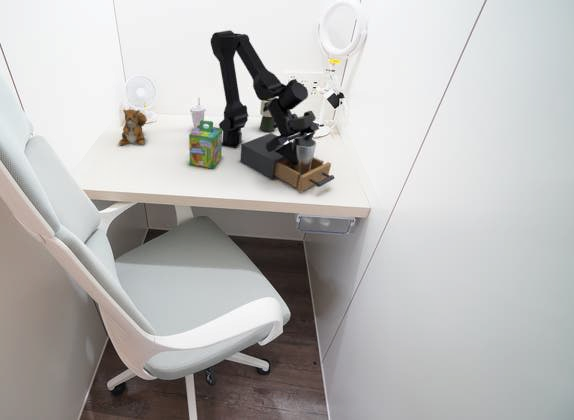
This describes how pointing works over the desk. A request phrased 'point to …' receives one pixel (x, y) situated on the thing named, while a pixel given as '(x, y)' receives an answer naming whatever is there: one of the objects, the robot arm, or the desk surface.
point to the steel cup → (303, 154)
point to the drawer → (314, 176)
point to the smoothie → (197, 114)
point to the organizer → (260, 155)
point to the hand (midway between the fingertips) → (304, 161)
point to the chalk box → (205, 145)
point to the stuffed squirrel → (133, 127)
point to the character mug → (266, 117)
